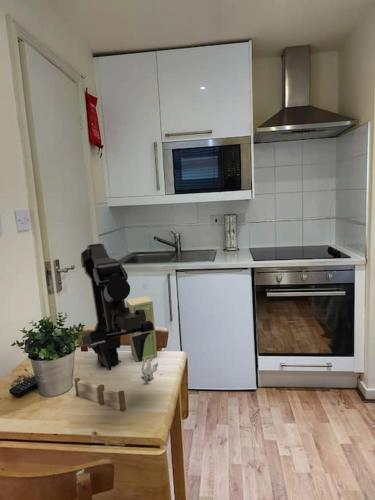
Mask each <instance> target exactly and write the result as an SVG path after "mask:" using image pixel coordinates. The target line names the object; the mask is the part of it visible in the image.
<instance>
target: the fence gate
mask: <svg viewBox="0 0 375 500" xmlns="http://www.w3.org/2000/svg"><path fill="white" fill-rule="evenodd" d="M73 381H74V388H75V393H76V394H75V396H77V397H80V398H83V399H86V400H88V401H92V402H94V403H99V395H98V386H99V385H98V384H95V383H91V382H88V381H85V380H81V378H80V377H75V378H74V379H73Z"/></svg>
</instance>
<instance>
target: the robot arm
mask: <svg viewBox="0 0 375 500" xmlns="http://www.w3.org/2000/svg"><path fill="white" fill-rule="evenodd" d="M86 247H87V248H86V249H85V250H83V251H82V252H81V254H80V263H81V264H80V265H81V268H82V269H83V271H84V274H85V275H86V276H87V277H88V278H89V280H90V284H91V291H92V297H93V302H94V303H93V304H94V310H95V316H96V317H95V318H96V323H95V326H94V328H93V331H90V332H87V333H84V334H83V335H82V339H81V342H82V346H83V347H85V346H88V345H89V346H88V347H87V348H88V349H92V350H93V352H94V354H96V355H97V363H98V365H99V366H100V367H102V368H106V369H107V371H108V372H109V371H112V368H114V367H116V366H117V365H119V363H122V360H120V359H119V354H118V353H119V352H118V349H120V348H121V346H122V344H121V339H122V336H126V335H129V334H131V333H133V334H134V337H132V340H133V344H134V348H135V351H136V355H137V358H138V361H139V363H143V361H142V358H143V351H144V344H145V340H146V338H147V336H148V335H149V334H151V332H149V331H152V330H154V325H153V323H152V322H151V321H146V315H145V311H144V310H142V309H140V310H136V311H135V313H130V310H129V307H126V300H127V298H128V297H129V295H130V292H131V285H130V284H129V282H128V277H129V275H128V273H127V271H126V269H125V267H123V265H122V263H120V262H119V261H118V259H116V258H111V257H110V256H109V254H108V251H107V249H106V248H105V246H104V244H103V243H101V242H100V243H92V244H89V245H87V246H86ZM125 299H126V300H125ZM148 332H149V333H148Z"/></svg>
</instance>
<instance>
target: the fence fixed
mask: <svg viewBox="0 0 375 500" xmlns="http://www.w3.org/2000/svg"><path fill="white" fill-rule="evenodd" d="M98 395H99V402H98V404H99V405H101V406H102V405H104V406H106V407H109V408H113V409H115V410H118V411H120V412H125V411H126V410H127V407H126V398H125V397H126V396H125V391H124V390H119V391H118V392H117V391H114V390H110V389H107V388H105V385H104V384H99V385H98Z"/></svg>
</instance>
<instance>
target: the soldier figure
mask: <svg viewBox="0 0 375 500" xmlns="http://www.w3.org/2000/svg"><path fill="white" fill-rule="evenodd" d="M152 361H153V358H150V359H148V361H147V359H144V360H143V361H142V365H141V368H140V371H141V373H142V375H143V376H141V378H140V379H142V380H143V381H144V382H145V383H146V384H147V382H148V381H153V380H155V377H154V376H153V375H154V373H155V372H156V371H157V369H158V368H157V367H158V365H159V363H158V362H156V363H155V364H154V365H151V362H152ZM146 362H147V364H146V367H145V363H146ZM151 366H152V369H151ZM162 375H163V373H161V374H160V376H162Z"/></svg>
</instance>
